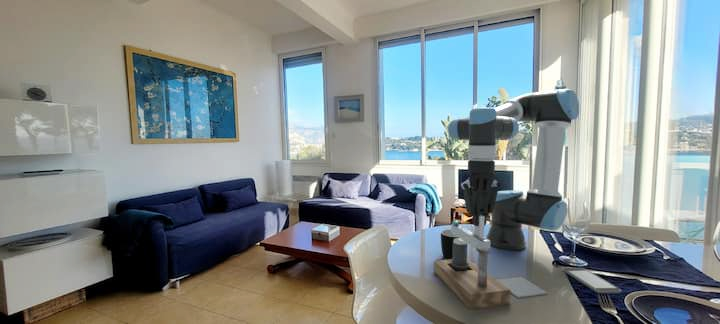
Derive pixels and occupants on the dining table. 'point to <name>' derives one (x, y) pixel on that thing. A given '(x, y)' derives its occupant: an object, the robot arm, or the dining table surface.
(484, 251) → the crank
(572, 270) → the smartphone
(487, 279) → the socket block
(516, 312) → the dining table surface
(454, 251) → the plug
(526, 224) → the robot arm
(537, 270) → the dining table surface
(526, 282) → the mat
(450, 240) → the mug
